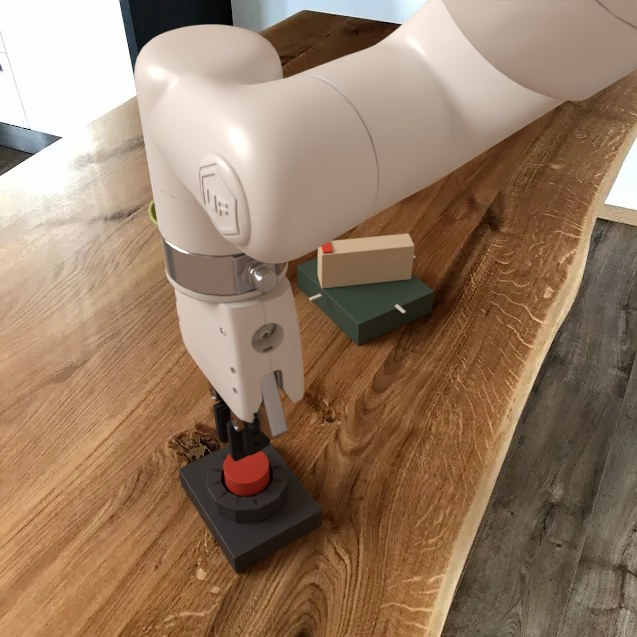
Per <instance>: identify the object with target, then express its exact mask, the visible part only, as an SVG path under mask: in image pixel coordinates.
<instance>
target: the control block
mask: <svg viewBox="0 0 637 637" xmlns="http://www.w3.org/2000/svg"><path fill="white" fill-rule="evenodd" d="M261 451H262V452H263V453H264V454H265V455H266V456H267V458H268V461H269V473H270V480H269V483H268V485H267V487H266V488H265V489H264V490H263V491H262V492H260V493H259V494H257V495H254V496H249V497H243V496H238V495H236V494H234V493H232V492H231V491H230V490H229V489H228V488H227V486H226V483H225V476H224V467H223V466H224V461H225V459H226V458H227V456H228V455H229V454H230V449H229V444H227V445H225V446H223V447H222V448H219V449H217V450H215V451H213V452H211V453H208V454H207V455H205V456H203V457H201V458H198V459H197V460H194V461H192V462H190V463H188V464H186V465H184V466H182V467H180V468H178V475H179V480H180V485H181V487H182V489H183V490H184V493H185V494H186V495H187V497H188V498H189V500H190V501H191V503H192V505H193V506H194V508H195V509H196V511H197V513H198V514H199V516H200V518H201V520H202V521H203V523H204V524H205V526H206V528H207V529H208V531H209V532H210V534H211V536H212V537H213V539H214V540H215V542H216V543H217V545H218V547H219V549H220V550H221V552H222V553H223V555H224V557H225V558H226V559H227V562H229V565H230V566H231V568H232V569H233V571H234V573H235V574H238V573H240V572H242V571H245V569H247V568H249V567H251V566H253V565H254V564H256V563H258V562H260V561H262V560H263V559H265V558H267V557H269V556H270V555H272V554H274V553H275V552H277V551H280V550H281V549H283V548H285V547H286V546H287V545H289V544H291V543H293V542H296V541H297V540H299V539H300V538H302V537H304V536H305V535H307V534H309V533H311V532H313V531H314V530H316V529H319V528H320V527H322V526H323V508H322V507H321V506H320V505H319V503H318V502H317V501H316V500H315V498H314V497H313V496H312V494H311V493H310V492H309V490H308V489H307V488H306V486H305V485H304V484H303V483H302V482H301V480H300V479H299V477H298V476H297V475H296V474H295V472H294V471H293V470H292V468H291V466H289V465H288V463H287V462H286V460H285V459H284V458H283V457H282V456H281V454H280V453H279V452H278V450H277V449H276V448H275V447H274V445H273V444H272V443H271V442H270V444H269V445H268V446H267V447H265V448H263V449H262V450H261Z"/></svg>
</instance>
